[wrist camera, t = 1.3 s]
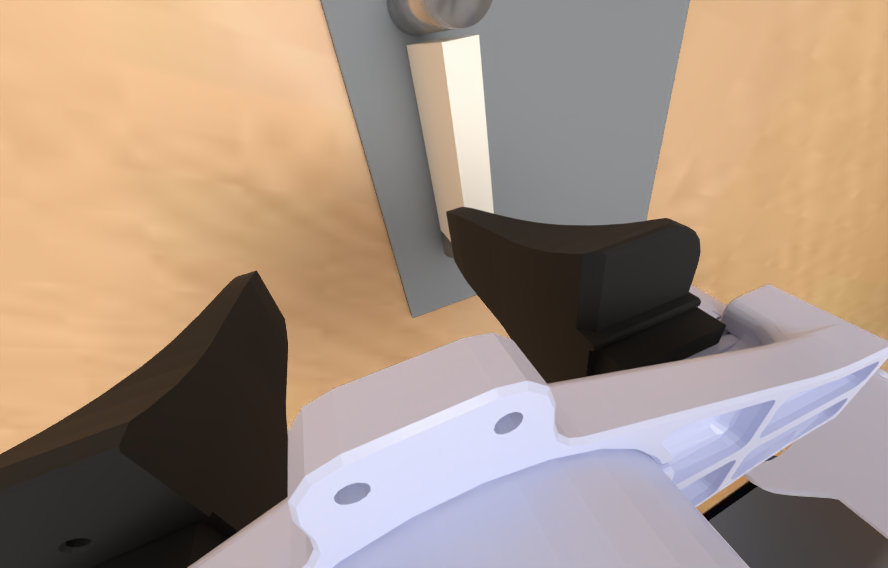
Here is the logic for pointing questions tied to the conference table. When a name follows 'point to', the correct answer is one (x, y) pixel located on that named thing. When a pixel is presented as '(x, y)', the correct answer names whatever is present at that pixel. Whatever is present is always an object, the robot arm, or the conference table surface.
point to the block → (453, 124)
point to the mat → (517, 118)
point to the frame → (436, 14)
